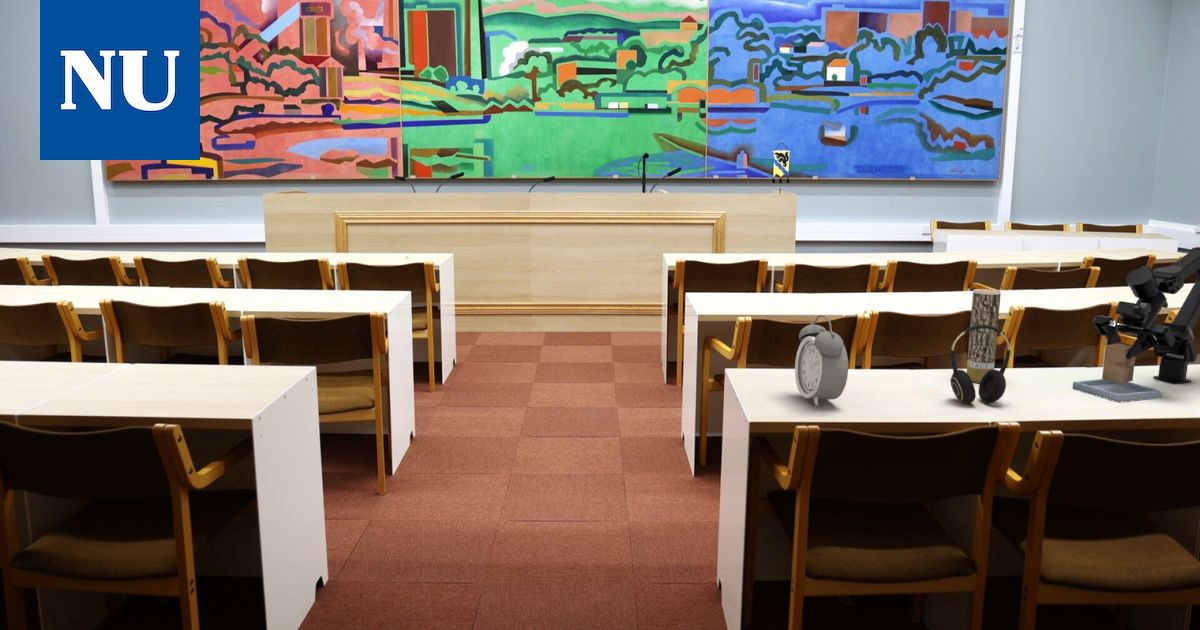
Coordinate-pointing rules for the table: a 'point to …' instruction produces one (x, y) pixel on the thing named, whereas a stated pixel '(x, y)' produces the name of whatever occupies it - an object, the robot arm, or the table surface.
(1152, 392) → the tray
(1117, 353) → the walnut block
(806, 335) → the alarm clock
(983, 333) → the paper tube
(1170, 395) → the table surface
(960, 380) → the headphones
